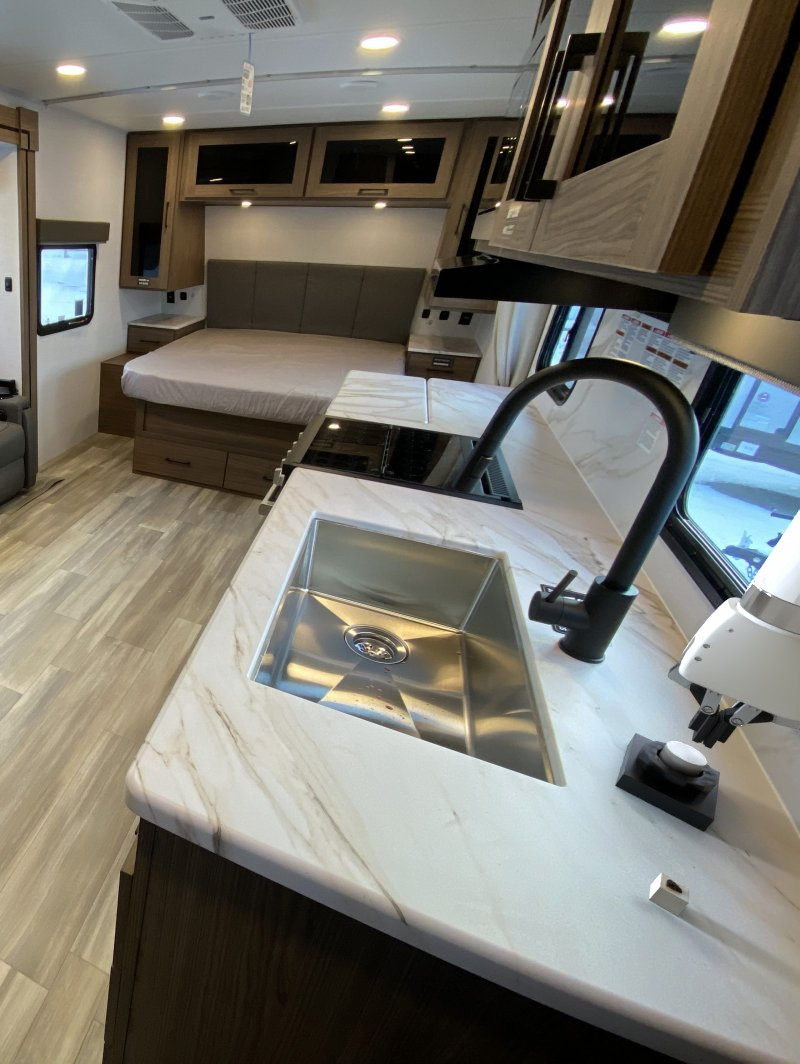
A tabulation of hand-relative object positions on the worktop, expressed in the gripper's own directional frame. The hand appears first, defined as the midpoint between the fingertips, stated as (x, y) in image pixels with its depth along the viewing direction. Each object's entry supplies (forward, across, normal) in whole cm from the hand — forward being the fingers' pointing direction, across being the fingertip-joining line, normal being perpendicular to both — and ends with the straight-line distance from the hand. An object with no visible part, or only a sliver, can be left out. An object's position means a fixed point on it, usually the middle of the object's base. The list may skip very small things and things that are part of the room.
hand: (702, 738), depth 67 cm
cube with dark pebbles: (+8, -1, +19) cm, 21 cm away
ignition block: (+8, 0, 0) cm, 8 cm away
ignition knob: (+5, 0, 0) cm, 5 cm away
